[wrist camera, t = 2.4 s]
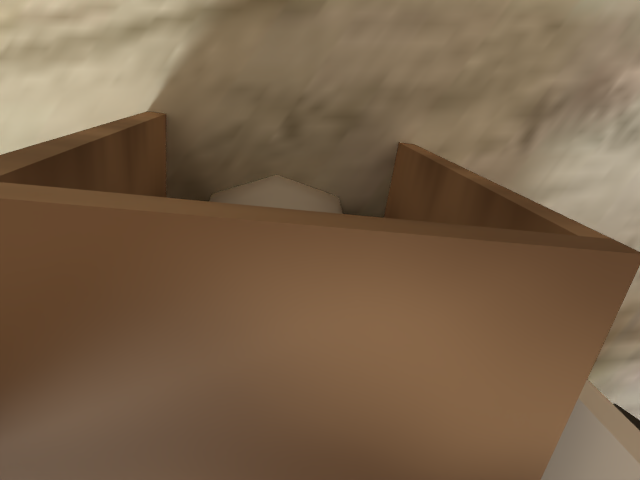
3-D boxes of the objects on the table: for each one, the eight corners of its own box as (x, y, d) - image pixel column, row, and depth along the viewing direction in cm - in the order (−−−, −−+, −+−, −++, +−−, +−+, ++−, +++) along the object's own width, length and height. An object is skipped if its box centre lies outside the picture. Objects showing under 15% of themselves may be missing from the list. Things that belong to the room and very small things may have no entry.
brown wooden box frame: (369, 353, 22) (470, 632, 11) (151, 345, 20) (11, 667, 9) (414, 144, 18) (644, 254, 7) (147, 111, 16) (-113, 187, 5)
